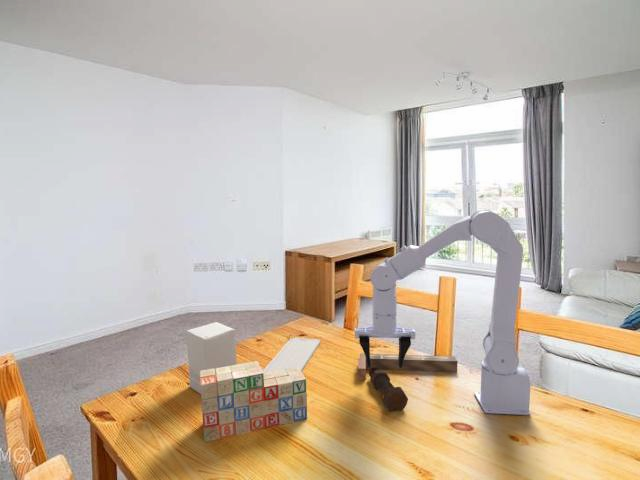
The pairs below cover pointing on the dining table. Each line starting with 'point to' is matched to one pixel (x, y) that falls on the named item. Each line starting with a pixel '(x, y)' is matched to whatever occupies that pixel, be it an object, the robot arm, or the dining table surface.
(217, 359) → the supplement box
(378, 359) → the walnut fence
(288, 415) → the stack of blocks
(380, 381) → the bolt
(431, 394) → the dining table surface
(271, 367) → the baseboard molding
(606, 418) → the dining table surface
